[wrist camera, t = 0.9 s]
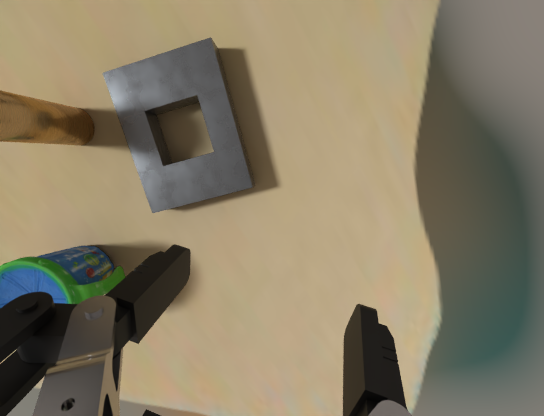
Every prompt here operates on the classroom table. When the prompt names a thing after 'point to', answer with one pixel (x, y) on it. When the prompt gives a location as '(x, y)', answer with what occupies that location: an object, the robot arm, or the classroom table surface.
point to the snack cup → (60, 275)
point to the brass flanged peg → (42, 121)
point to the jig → (171, 95)
